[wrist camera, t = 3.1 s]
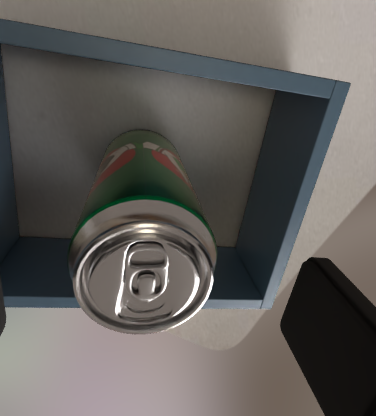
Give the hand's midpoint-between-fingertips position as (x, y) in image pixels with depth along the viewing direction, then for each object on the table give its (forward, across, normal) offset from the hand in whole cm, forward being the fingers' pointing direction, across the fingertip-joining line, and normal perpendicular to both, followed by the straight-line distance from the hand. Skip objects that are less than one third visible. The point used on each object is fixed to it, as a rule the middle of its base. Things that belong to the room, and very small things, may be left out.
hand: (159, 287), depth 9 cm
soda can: (+12, +1, 0) cm, 12 cm away
